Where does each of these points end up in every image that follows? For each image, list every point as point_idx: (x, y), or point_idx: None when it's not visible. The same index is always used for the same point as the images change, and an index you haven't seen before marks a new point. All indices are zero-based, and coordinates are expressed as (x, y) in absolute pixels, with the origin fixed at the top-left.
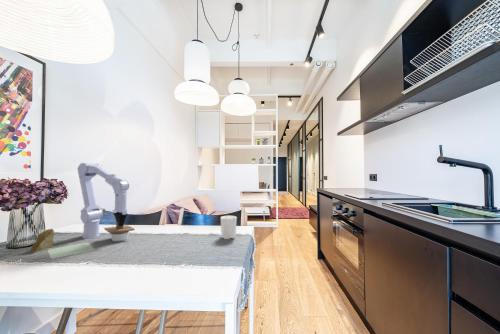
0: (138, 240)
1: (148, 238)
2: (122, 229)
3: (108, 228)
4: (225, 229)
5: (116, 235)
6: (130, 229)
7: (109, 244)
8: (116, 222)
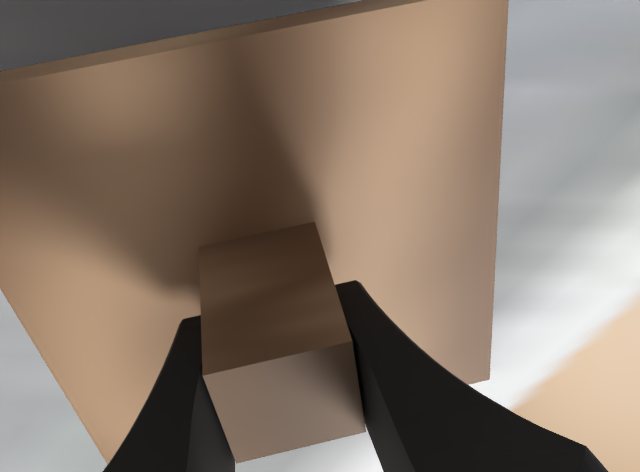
0: (48, 373)
1: (87, 459)
2: (126, 323)
3: (376, 75)
4: None
5: None
6: (87, 424)
7: (12, 7)
8: (343, 315)
